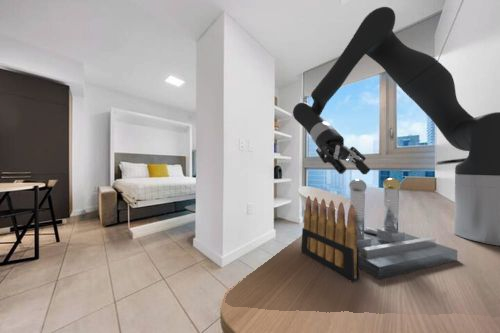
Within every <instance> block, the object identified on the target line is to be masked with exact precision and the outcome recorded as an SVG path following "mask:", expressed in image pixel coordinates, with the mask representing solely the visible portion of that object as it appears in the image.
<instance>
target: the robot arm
mask: <svg viewBox="0 0 500 333" xmlns="http://www.w3.org/2000/svg"><path fill="white" fill-rule="evenodd" d="M395 24H396V14H395V10H393V9H392V8H391V7H388V6H381V7H378V8H375V9H374V10H372V11H371V12H369V13H368V14H366V16H365V17H364V19H363V20H362V21H361V23H360V24H359V26H358V28H357V30H356V31H355V33H354V34H353V36H352V38H351V39H350V41H349V42H348V43H347V45H346V47H345V48H344V49H343V51H342V53H341V54H340V55H339V57H338V59H337V60H336V61H335V63H333V65H332V67H331V68H330V69H329V71H328V72H327V73H326V74H325V76H324V77H323V78H322V79H321V80H320V81H319V83H318V84H317V85H316V87H315V88H314V89H313V91H312V92H311V94H310V97H311V98H312V100H313V103H312V105H310V104H309V103H308V102H299V103H297V104H296V105H295V106H294V107H293V111H292V115H293V118H294V120H296V122H298V124H300V125H301V126H302V127H303V128H304V129H305V131H306V132H307V133H308V134H309V136H310V137H311V139H312V141H313V143H314V144H315V145H316V146H317V149H316V151H315V152H316V153H317V155H318V156H319V158H320V159H321V161H322V163H323V164H327V163H328V164H329V165H331V166H332V167H333V168H334V169H335V170H336V171H337V173H338V174H340V175H343V174H344V173H345V172H346V171H347V166H346V165H345V164H343V162H342V161H344V162H346V163H350V164H352V165H353V166H355V167H356V169H357V170H358V171H359V172H360V173H361V174H362V175H368V173H369V172H370V171H371V169H370V168H369V166H368V165H367V164H366V163H365V162H364V161H366V160H367V158H366V156H364V155H363V154H362V153H361V151H359V150H358V149H357V148H356V147H355V146H351V147H350V148H349V147H348V146H346V145H345V144H344V143H345V138H344V137H343V136H342V135H341V134H340V133H339V132H338V131H337V130H336V129H335V128H334V127H333V126H332V125H331V124H330V123H329V122H327V121H326V119H324V118H323V117H322V116H321V114H322V112H323V111H324V109H325V107H326V105H327V103H329V101H330V100H331V99H332V98H333V96H334V95H335V94H336V93H337V92H338V90H339V89H340V88H341V87H342V85H343V84H344V83H345V81H346V80H347V79H348V76H350V74H351V72H352V71H353V69H354V68H355V67H356V65H357V64H358V63H359V62H360V60H361V59H362V58H363V57H364V56H365V55H367V57H369V58H370V59H372V60H373V61H374V62H375V63H377V64H378V65H379V66H381V68H382V69H383V70H384V71H385V73H387V75H388V76H389V77H390V78H391V79H392V80H393V82H395V84H396V85H397V87H399V88H400V89H401V91H402V92H404V93H405V94H406V95H407V97H409V99H411V100H412V101H413V102H414V103H415V104H417V106H418V107H419V109H421V111H423V112H424V113H425V114H426V116H428V117H429V119H431V121H432V122H433V124H434V125H435V126H436V127H437V129H438V130H439V131H440V133H441V134H442V135H443V137H444V138H445V139H446V141H447V142H448V144H450V145H451V146H452V147H454V148H455V149H458V151H463V152H468V156H467V157H466V158H465V159H464V160H463V161H461V162H459V163H458V164H456V165H455V169H454V173H455V174H454V227H453V228H454V234H455V235H456V236H458V237H461V238H464V239H467V240H470V241H474V242H478V243H481V244H488V245H493V246H500V112H489V113H486V114H483V115H479V116H476V117H474V116H472V115H471V114H470V113H468V112H467V110H466V109H464V108H463V106H462V105H461V104H460V102H459V101H458V98H457V94H456V93H457V92H456V86H455V85H456V84H455V81H454V77H453V75H452V73H451V72H450V71H449V70H448V69H447V68H446V67H445V66H444V65H443V64H442V63H440V62H439V60H438V59H436V58H434V56H431V55H429V54H427V53H424V52H422V51H419V50H416V49H413V48H410V47H409V46H407V45H405V43H403V42H402V41H401V39H399V37H398V36H397V35H396V34H395V33H394V28H395V27H394V26H395ZM348 157H349V158H348Z"/></svg>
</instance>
